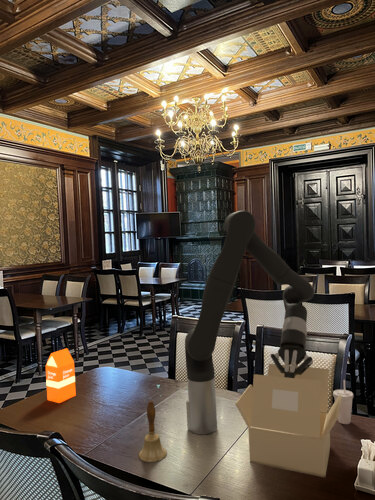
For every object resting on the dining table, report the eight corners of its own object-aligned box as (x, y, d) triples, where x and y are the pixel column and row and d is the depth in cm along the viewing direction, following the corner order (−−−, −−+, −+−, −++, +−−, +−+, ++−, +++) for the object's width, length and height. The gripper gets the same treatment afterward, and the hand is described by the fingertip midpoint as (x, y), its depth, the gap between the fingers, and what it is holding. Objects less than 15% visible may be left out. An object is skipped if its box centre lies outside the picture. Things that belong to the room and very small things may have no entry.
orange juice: (47, 399, 159) (44, 352, 159) (63, 392, 167) (61, 347, 167) (59, 403, 155) (57, 354, 155) (76, 395, 163) (73, 348, 163)
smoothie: (356, 426, 124) (354, 383, 124) (335, 425, 126) (334, 383, 125) (352, 417, 131) (350, 377, 130) (332, 416, 132) (330, 376, 132)
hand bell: (139, 448, 117) (136, 397, 117) (166, 446, 118) (163, 395, 118) (138, 464, 109) (135, 408, 109) (167, 461, 110) (164, 406, 109)
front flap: (250, 426, 106) (250, 426, 106) (254, 374, 112) (253, 374, 111) (320, 437, 99) (319, 437, 98) (320, 381, 104) (320, 380, 103)
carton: (237, 459, 109) (233, 389, 108) (260, 419, 132) (257, 362, 132) (340, 480, 97) (337, 402, 97) (345, 432, 121) (342, 369, 120)
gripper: (271, 327, 122) (263, 378, 111) (314, 329, 116) (310, 383, 105) (275, 339, 127) (268, 389, 116) (316, 342, 121) (314, 394, 110)
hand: (288, 386), depth 111 cm, fingers closed
